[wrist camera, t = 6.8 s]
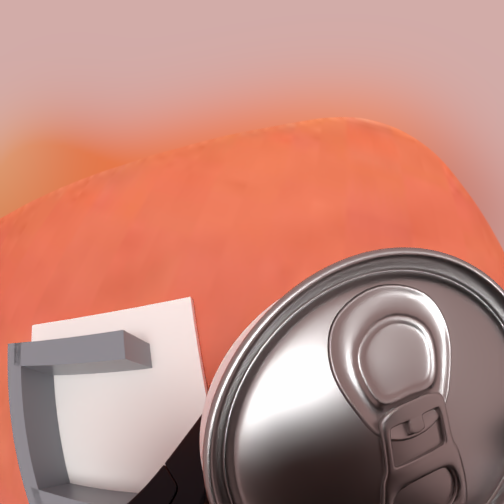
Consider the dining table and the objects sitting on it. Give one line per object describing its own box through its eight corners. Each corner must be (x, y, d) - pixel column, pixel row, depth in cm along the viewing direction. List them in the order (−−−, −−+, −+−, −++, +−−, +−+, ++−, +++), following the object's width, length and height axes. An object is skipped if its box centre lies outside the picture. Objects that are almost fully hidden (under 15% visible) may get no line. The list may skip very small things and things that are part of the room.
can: (351, 339, 15) (489, 201, 4) (377, 446, 12) (556, 482, 1) (234, 365, 14) (143, 265, 4) (257, 477, 11) (227, 633, 1)
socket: (193, 300, 18) (172, 273, 14) (244, 539, 10) (235, 570, 7) (37, 327, 17) (2, 309, 14) (64, 520, 10) (31, 530, 6)
